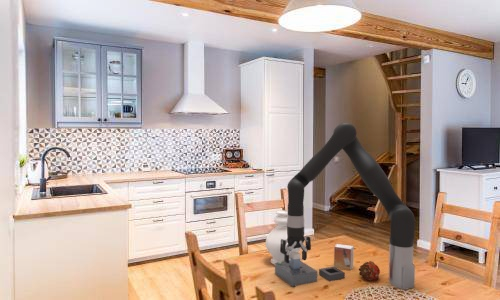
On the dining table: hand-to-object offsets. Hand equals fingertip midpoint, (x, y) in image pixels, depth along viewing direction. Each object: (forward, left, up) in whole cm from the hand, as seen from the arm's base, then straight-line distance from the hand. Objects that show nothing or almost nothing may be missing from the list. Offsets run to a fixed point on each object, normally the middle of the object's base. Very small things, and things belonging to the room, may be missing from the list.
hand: (295, 261), depth 160 cm
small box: (+1, -27, -8) cm, 28 cm away
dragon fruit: (-14, -29, -8) cm, 33 cm away
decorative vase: (+20, -5, -8) cm, 22 cm away
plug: (0, 0, -7) cm, 7 cm away
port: (0, 0, -8) cm, 8 cm away
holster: (-6, -15, -8) cm, 18 cm away
